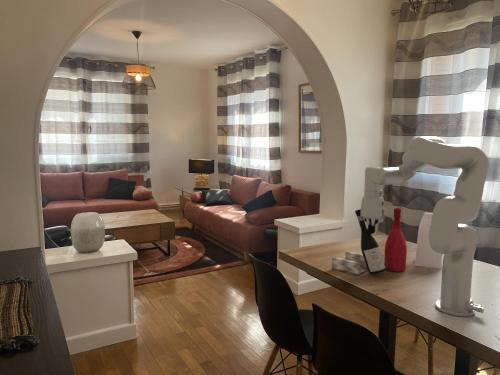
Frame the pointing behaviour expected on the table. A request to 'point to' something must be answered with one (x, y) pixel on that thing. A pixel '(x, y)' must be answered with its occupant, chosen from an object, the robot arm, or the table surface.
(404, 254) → the wine bottle
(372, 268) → the wine bottle
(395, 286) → the table surface
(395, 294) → the table surface
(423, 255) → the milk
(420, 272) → the table surface
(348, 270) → the cradle
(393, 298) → the table surface
